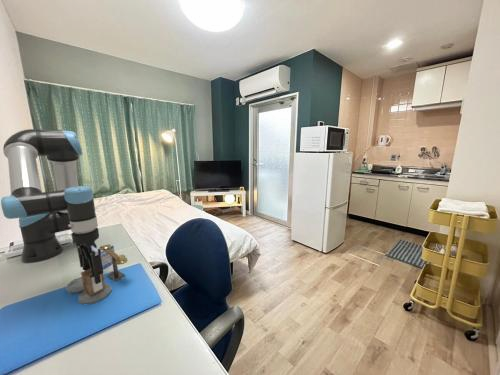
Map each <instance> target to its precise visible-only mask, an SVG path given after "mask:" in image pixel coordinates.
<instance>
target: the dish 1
mask: <svg viewBox="0 0 500 375" xmlns="http://www.w3.org/2000/svg"><path fill="white" fill-rule="evenodd" d="M65 289H66V292H67V293H68V294H81V293H82V292H83V291H84V288H83V282H82V276H79V277H77V278H75V279H73V280H72V281H70V282H69V283H67V285H66V287H65Z"/></svg>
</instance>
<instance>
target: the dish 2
mask: <svg viewBox="0 0 500 375" xmlns="http://www.w3.org/2000/svg"><path fill="white" fill-rule="evenodd" d="M105 288H106V289H104V290H102V291H100V292H98V293H97V294H95V295H93V296H91V297H90V296H89V295H88V294H86V293H85V292H84V291H83V292H80V293H79V295H78V302H79V304H81V305H84V304H87V305H93V304H96V303H98V302H100V301H102V300H105V299H106V298H107V297H108V296H109V295H110V294H111V293H112V285H110V284H109V283H105Z"/></svg>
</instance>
